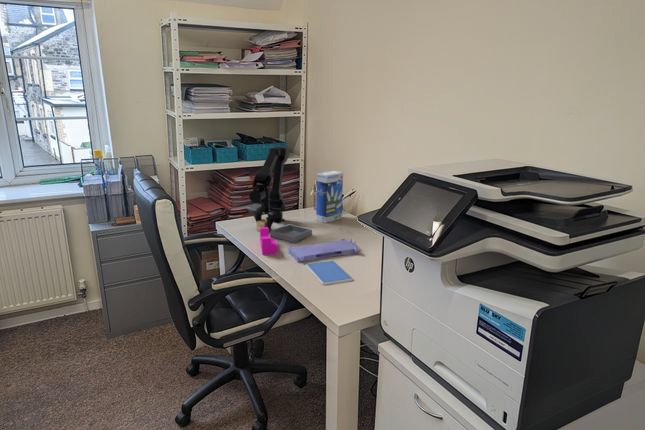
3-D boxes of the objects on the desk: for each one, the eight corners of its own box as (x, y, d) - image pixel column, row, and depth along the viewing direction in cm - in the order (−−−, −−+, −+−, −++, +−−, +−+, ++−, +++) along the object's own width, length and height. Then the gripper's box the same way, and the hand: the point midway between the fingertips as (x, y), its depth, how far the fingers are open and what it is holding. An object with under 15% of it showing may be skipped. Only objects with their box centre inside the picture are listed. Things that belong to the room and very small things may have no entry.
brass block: (263, 228, 218) (263, 218, 216) (271, 230, 215) (271, 220, 214) (256, 230, 214) (256, 221, 212) (264, 232, 211) (264, 223, 210)
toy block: (277, 254, 185) (276, 238, 183) (262, 255, 184) (262, 238, 182) (273, 242, 199) (273, 227, 197) (260, 243, 198) (259, 227, 196)
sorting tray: (289, 229, 216) (289, 223, 216) (311, 235, 209) (311, 229, 208) (270, 236, 206) (270, 230, 205) (293, 243, 198) (293, 237, 197)
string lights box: (325, 223, 228) (326, 175, 220) (315, 220, 233) (316, 173, 225) (341, 218, 237) (343, 172, 229) (331, 215, 242) (333, 170, 234)
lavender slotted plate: (363, 255, 188) (347, 243, 201) (364, 245, 187) (347, 235, 199) (299, 265, 175) (286, 252, 188) (299, 255, 174) (286, 243, 187)
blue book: (304, 266, 175) (305, 263, 174) (333, 262, 179) (333, 259, 179) (322, 286, 157) (322, 283, 157) (353, 281, 162) (354, 278, 162)
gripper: (237, 197, 209) (238, 228, 213) (266, 204, 198) (266, 236, 203) (254, 193, 217) (254, 223, 222) (282, 199, 207) (282, 230, 211)
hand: (263, 228), depth 214 cm, fingers open, 6 cm apart
